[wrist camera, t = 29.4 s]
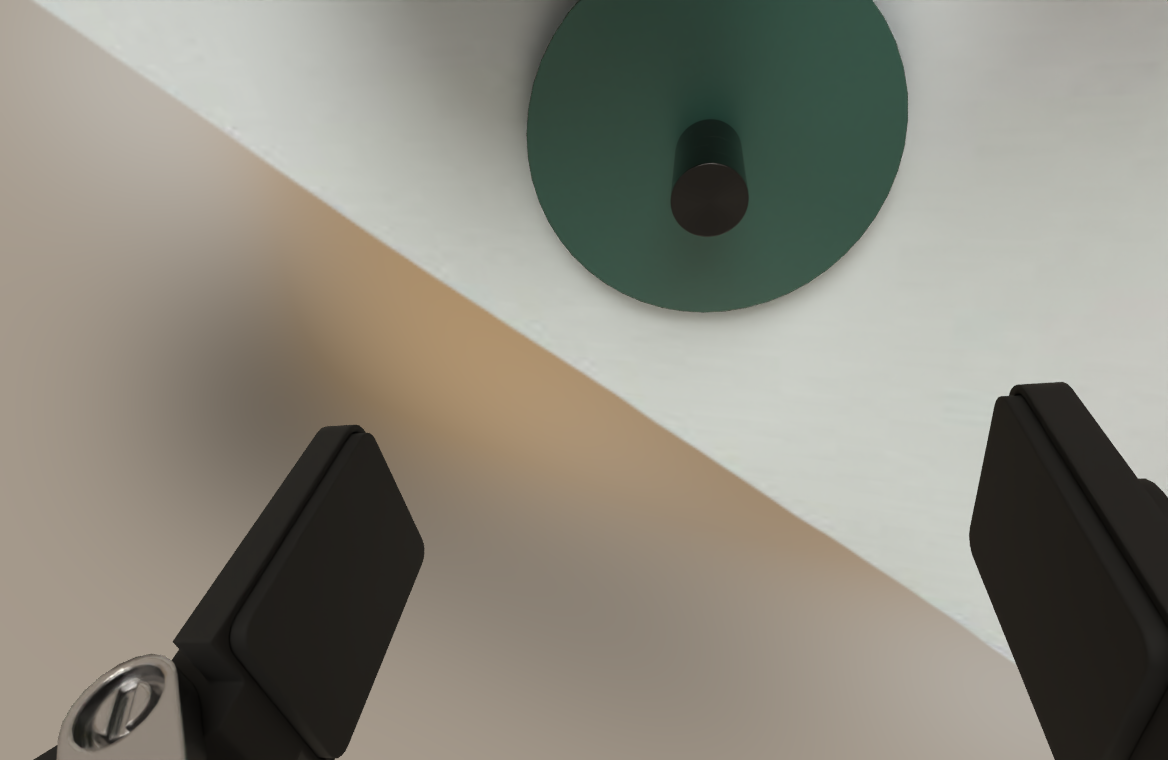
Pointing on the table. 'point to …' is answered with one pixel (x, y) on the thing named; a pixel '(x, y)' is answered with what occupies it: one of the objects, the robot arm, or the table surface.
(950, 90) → the table surface
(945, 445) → the table surface
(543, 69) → the lid
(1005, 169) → the table surface
